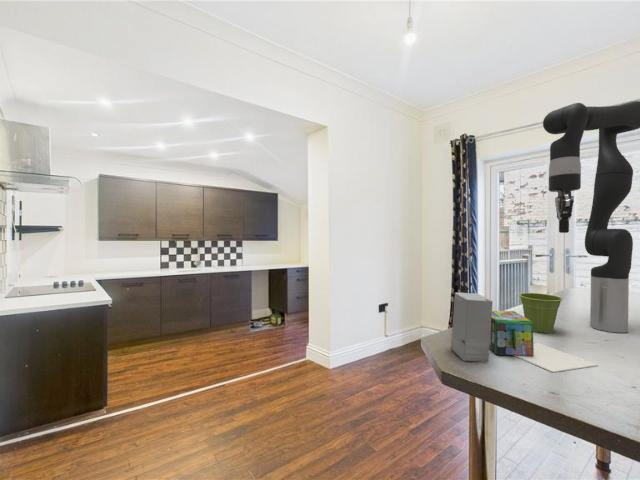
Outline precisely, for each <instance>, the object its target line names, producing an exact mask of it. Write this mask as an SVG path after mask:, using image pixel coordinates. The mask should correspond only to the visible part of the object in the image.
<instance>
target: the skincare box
mask: <svg viewBox="0 0 640 480" xmlns="http://www.w3.org/2000/svg"><path fill="white" fill-rule="evenodd" d="M453 300H454V301H453V316H452V330H451V342H450V349H451V351H453V352H454V353H455V354H456V355H457V357H459V358H460V359H461V360H462V361H464V362H482V363H483V362H484V363H485V362H489V358H490V357H489V356H490V355H489V354H490V347H489V344H490V329H491V316H492V311H493V302H494V301H493V300H491V299H489V298H487V297H486V296H485V295H484V296H483V295H481V294H479V293H476V292H475V293H473V292H472V293H471V292H470V293H469V292H454V299H453Z"/></svg>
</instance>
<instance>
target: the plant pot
mask: <svg viewBox="0 0 640 480" xmlns="http://www.w3.org/2000/svg"><path fill="white" fill-rule="evenodd" d="M518 297H520V301H521V304H522V310H523V317H525V318H527V319H529V320H530V321H532V322H533V332H534V333H535V332H536V333H541V334H542V333H546V334H551V333H553V332H554V329H555V328H554V327H555V325H556V321H557V320H556V319H557V315H558V311H559V308H560V305H561V301H563V298H562V297H561V296H558V295H552V294H549V293H547V294H546V293H540V292H539V293H538V292H537V293H536V292H521V293H518Z"/></svg>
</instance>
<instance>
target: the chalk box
mask: <svg viewBox="0 0 640 480" xmlns="http://www.w3.org/2000/svg"><path fill="white" fill-rule="evenodd" d="M533 343H534V331H533V322H532V321H530V320H529V319H527V318H525V317H524V315H522V314H520V313H518V312H516V310H515V311H514V310H513V311H512V310H492V316H491V329H490V344H489V349H491V350H492V351H493V353H495V355H500V356H501V355H502V356H513V355H520V356H534V346H533Z"/></svg>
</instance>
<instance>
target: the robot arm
mask: <svg viewBox="0 0 640 480" xmlns="http://www.w3.org/2000/svg"><path fill="white" fill-rule="evenodd" d="M542 127H543V129H544V130H545V132H546V133H548V134H551V135H561V134H563V135H562V137H560V138H558V139H556V140H554V141H552V142H551V143H550V147H549V156H550V157H549V166H548V191H549V192H550V193H557V196H556V197H555V198H554V203H555V205H554V206H555V212H556V218H557V221H558V233H560V234H567V233H569V232H570V220H571V217H572V215H573V214H572V213H573V206H574V202H575V201H574V199H575V198H574V197H575V196H573V195H572V192H574V191H578V190H580V189H581V184H582V180H581V177H582V176H581V175H582V173H581V171H582V166H581V165H582V164H581V158H580V157H581V141H582V138H583V135H584V132H585V131H587V132H588V131H595V130H598V153H597V156H598V157H597V162H596V164H597V165H596V172H595V177H594V184H593V185H594V186H593V196H592V205H591V209H590V210H591V211H590V216H589V220H588V224H587V227H586V230H585V231H586V233H585V235H584V236H585V237H584V249H585V251H586V252H587V254H589V255H590V256H596V257H608V258H607V262H605V263H603V264H601V265H598V266H593V267H592V268H591V269H590V308H589V309H590V313H589V314H590V315H589V316H590V317H589V318H590V319H589V320H590V322H589V323H590V326H589V327H591V328H592V329H596V330H599V331H603V332H604V331H605V332H609V333H622V334H623V333H624V334H625V333H628V332H629V291H630V290H629V286H630V285H629V284H630V279H629V277H630V272H631V269H632V258H633V249H634V240H633V237H632V236H633V235H632V234H631V232H630V231H628V229H625V228H608V225H609V222H610V219H611V217H612V215H613V213H614V212H615V211H616V210H617V208H618V207H619V206H620V205H621V204H622V203H623V201H624V200H625V199H626V198H627V197H628V195H629V194H630V192H631V190H632V187H633V186H632V185H633V176H634V169H633V166H632V165H631V163H630V162H629V160H628V159H626V157H625V156H624V155H623V154H622V153H621V151H620V149H619V148H618V145H617V135H618V134H623V133H628V132H631V131H636V130H639V129H640V100H635V101H629V102H625V103H622V104H619V105H608V106H586V105H585V103H581V102H575V103H572V104H568V105H566V106H564V107H560V108H557V109H554V110H552V111H550V112H548V113H546V115H545V116H544V118H543V121H542Z"/></svg>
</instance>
